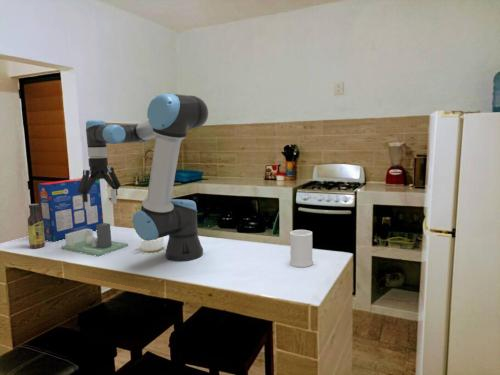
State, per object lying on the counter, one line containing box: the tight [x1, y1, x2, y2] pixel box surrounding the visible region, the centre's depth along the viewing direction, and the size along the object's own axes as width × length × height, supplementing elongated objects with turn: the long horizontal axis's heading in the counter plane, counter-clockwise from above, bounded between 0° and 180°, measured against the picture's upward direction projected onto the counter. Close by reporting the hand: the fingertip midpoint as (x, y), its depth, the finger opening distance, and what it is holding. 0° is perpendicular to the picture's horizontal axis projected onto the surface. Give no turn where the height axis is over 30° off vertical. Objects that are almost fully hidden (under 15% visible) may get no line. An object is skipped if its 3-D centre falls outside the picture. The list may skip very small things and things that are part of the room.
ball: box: [86, 235, 96, 245], centre depth 169 cm, size 4×4×4 cm
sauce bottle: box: [27, 203, 46, 249], centre depth 170 cm, size 7×6×20 cm
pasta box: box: [37, 177, 104, 243], centre depth 191 cm, size 28×8×28 cm, turn 148°
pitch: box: [60, 229, 129, 257], centre depth 168 cm, size 25×16×6 cm, turn 60°
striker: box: [91, 222, 112, 248], centre depth 165 cm, size 7×6×10 cm
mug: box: [289, 229, 314, 268], centre depth 140 cm, size 12×8×12 cm
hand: (101, 206), depth 162 cm, fingers open, 13 cm apart
